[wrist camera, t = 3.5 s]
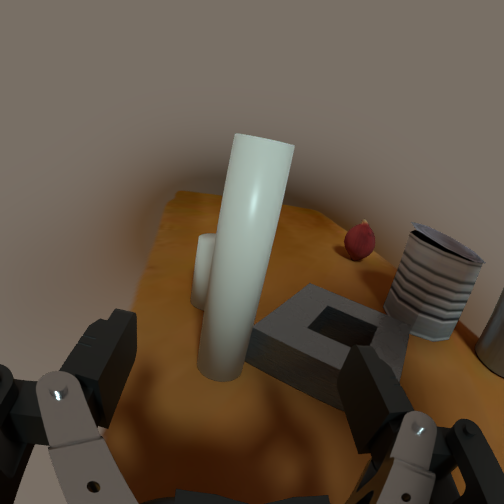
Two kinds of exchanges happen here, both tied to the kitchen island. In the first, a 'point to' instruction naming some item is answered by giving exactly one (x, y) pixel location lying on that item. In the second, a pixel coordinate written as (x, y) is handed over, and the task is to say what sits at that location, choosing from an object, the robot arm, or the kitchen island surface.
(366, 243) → the onion
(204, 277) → the short pin
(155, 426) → the kitchen island surface
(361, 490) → the robot arm
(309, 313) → the hole plate
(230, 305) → the long pin
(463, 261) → the can
